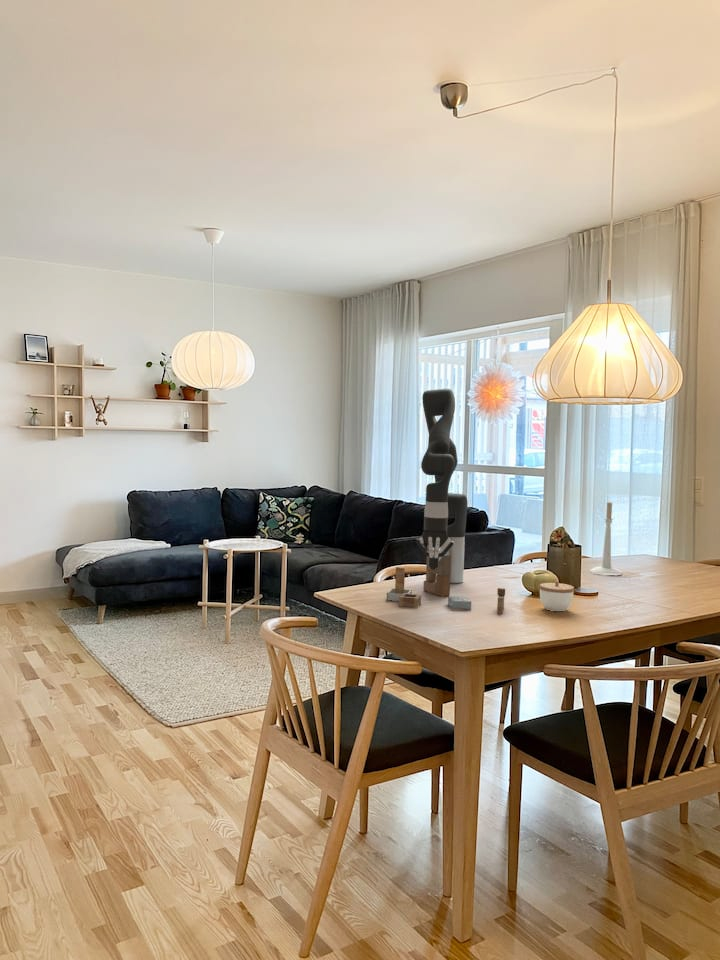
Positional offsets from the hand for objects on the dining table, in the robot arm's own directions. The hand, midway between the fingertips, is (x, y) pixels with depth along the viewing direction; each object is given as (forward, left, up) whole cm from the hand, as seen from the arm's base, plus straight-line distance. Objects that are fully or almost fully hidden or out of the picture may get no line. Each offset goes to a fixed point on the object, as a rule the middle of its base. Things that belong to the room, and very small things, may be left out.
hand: (433, 569), depth 241 cm
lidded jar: (-8, +39, -12) cm, 41 cm away
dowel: (-5, -12, -11) cm, 17 cm away
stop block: (0, +22, -12) cm, 25 cm away
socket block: (+3, -7, -12) cm, 14 cm away
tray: (-5, -12, -12) cm, 17 cm away
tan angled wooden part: (-18, -1, -12) cm, 22 cm away
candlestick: (-85, +60, -12) cm, 105 cm away
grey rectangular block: (0, +9, -12) cm, 15 cm away
